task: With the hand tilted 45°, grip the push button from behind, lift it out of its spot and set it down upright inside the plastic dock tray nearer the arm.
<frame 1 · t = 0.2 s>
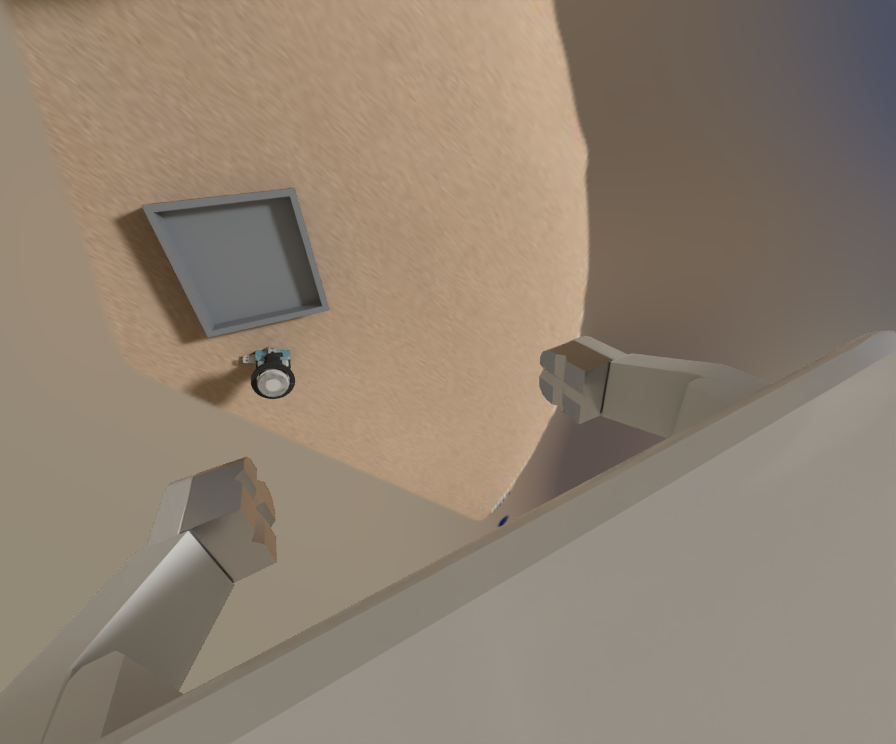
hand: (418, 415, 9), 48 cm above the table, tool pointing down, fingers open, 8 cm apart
dock tray: (250, 260, 47), on the table
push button: (268, 354, 53), on the table
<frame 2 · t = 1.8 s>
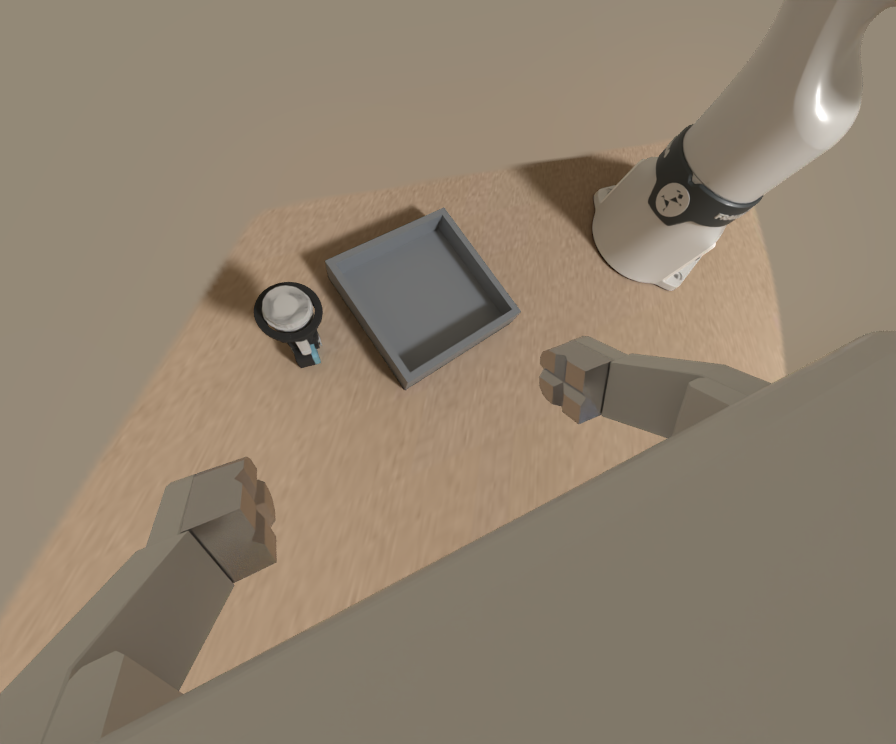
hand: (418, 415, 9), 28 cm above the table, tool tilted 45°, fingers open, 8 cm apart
dock tray: (423, 301, 42), on the table
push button: (306, 341, 38), on the table
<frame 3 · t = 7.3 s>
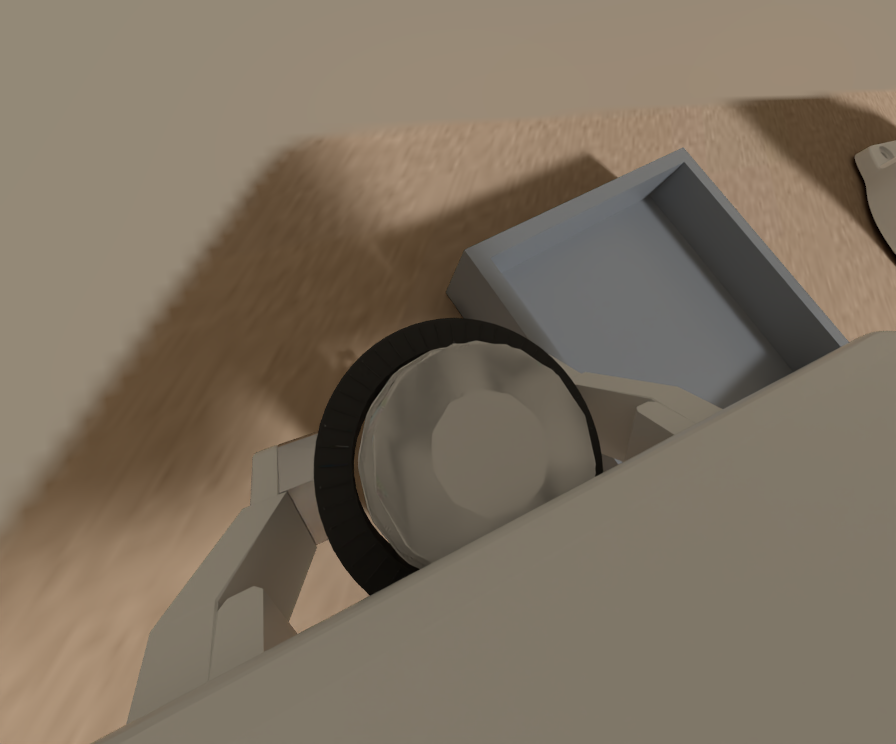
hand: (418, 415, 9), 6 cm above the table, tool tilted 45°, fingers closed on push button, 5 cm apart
dock tray: (639, 347, 19), on the table
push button: (403, 452, 15), on the table, touching gripper
when the fingers open (8 cm above the table, at t = 11.8 s): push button drops 1 cm, resting on dock tray.
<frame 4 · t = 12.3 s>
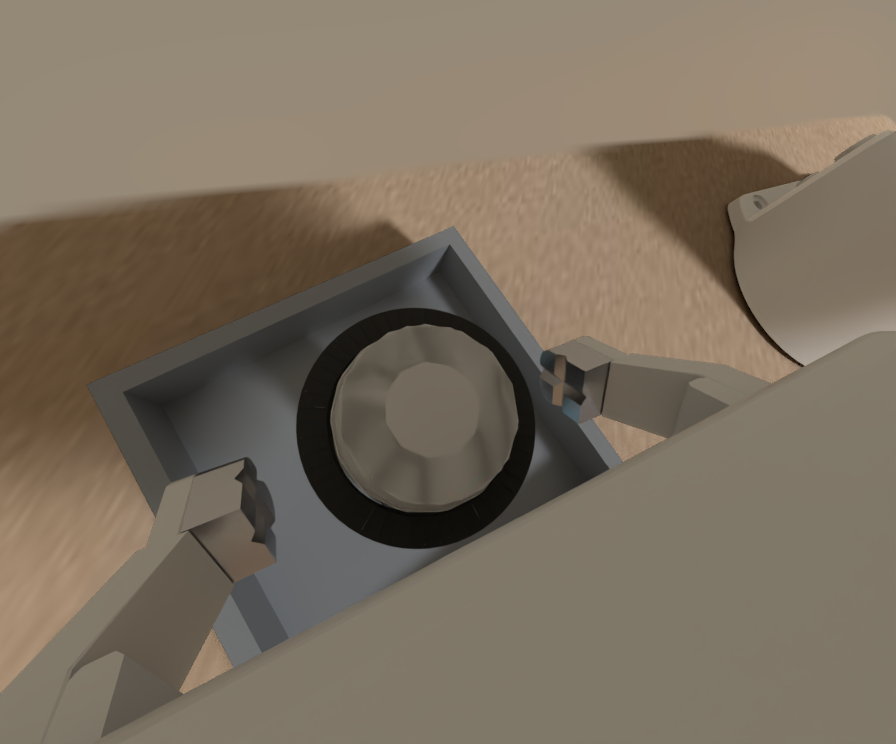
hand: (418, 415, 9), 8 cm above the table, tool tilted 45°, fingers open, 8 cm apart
dock tray: (398, 454, 17), on the table
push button: (389, 434, 16), point 1 cm above the table, touching dock tray
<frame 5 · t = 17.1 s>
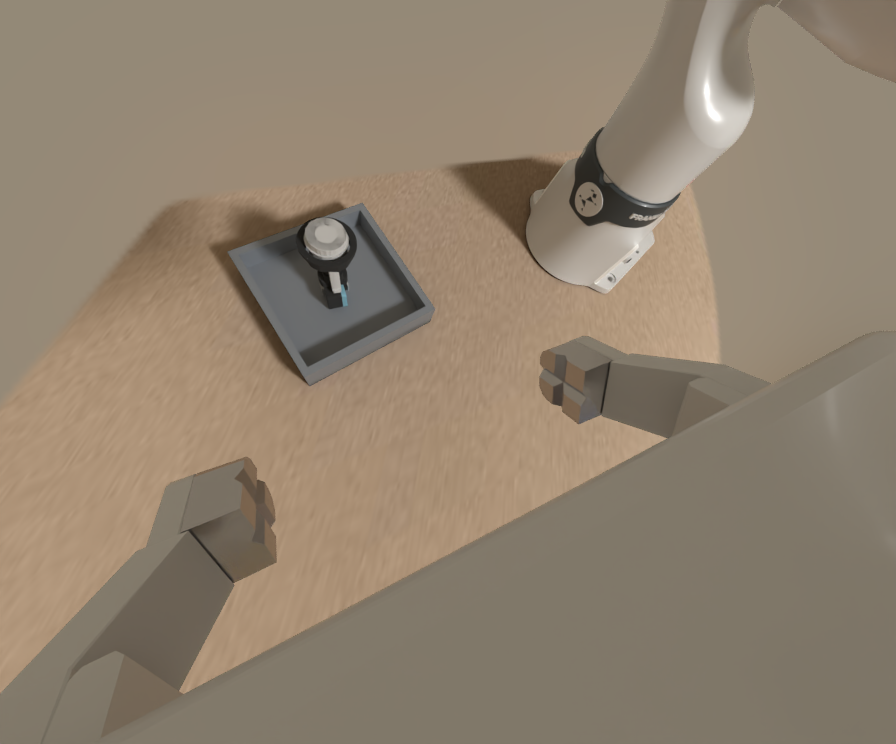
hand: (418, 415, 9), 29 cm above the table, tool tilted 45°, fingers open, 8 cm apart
dock tray: (338, 297, 41), on the table
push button: (334, 286, 40), point 1 cm above the table, touching dock tray
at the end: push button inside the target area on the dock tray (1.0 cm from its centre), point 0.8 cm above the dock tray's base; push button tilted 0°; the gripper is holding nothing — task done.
